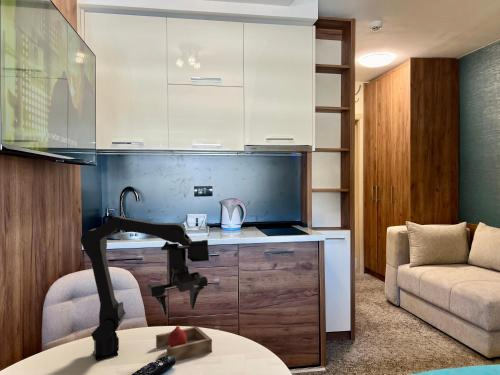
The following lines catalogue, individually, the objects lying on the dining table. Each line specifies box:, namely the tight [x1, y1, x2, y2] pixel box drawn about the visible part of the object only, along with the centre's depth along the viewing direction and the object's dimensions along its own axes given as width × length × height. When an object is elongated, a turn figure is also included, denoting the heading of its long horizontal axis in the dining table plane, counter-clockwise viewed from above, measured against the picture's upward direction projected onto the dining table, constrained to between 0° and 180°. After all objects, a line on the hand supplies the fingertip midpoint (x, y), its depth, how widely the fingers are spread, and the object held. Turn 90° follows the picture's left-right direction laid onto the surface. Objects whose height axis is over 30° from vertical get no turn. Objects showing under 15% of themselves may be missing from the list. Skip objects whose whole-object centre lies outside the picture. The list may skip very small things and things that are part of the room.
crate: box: [155, 325, 213, 362], centre depth 115 cm, size 14×12×4 cm
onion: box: [168, 325, 187, 348], centre depth 114 cm, size 6×6×8 cm
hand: (179, 311), depth 113 cm, fingers open, 9 cm apart
